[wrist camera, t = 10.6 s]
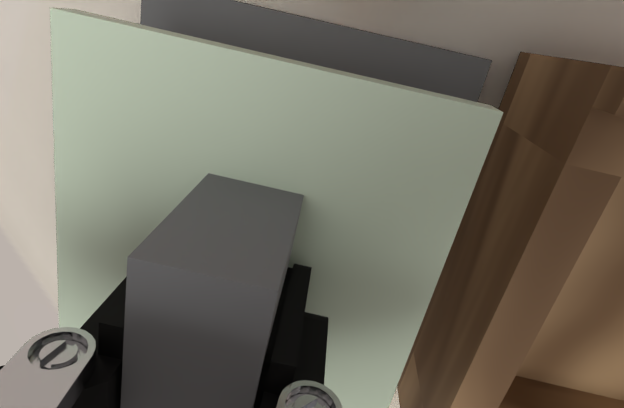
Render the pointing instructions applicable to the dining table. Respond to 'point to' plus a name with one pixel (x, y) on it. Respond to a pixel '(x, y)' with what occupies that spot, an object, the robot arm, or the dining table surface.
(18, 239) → the dining table surface
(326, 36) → the rubber mat
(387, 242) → the cover plate
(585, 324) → the walnut box
